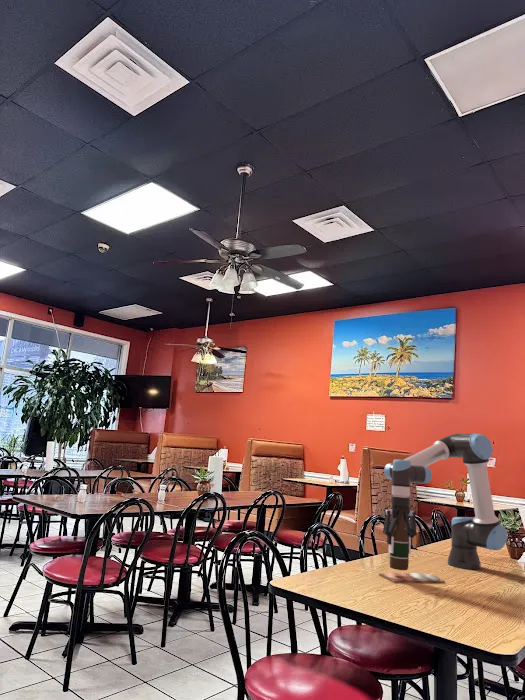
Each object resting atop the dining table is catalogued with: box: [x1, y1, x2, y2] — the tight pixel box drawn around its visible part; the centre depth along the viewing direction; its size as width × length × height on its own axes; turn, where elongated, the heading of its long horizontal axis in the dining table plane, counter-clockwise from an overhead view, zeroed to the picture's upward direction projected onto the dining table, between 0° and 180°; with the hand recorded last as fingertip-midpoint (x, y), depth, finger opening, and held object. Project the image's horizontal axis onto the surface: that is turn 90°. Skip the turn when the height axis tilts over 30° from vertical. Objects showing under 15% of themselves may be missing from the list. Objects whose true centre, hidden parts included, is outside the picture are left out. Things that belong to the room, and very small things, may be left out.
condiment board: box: [378, 572, 446, 584], centre depth 212 cm, size 24×12×1 cm, turn 106°
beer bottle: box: [389, 509, 410, 571], centre depth 213 cm, size 8×8×24 cm
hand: (399, 552), depth 212 cm, fingers closed on beer bottle, 7 cm apart
